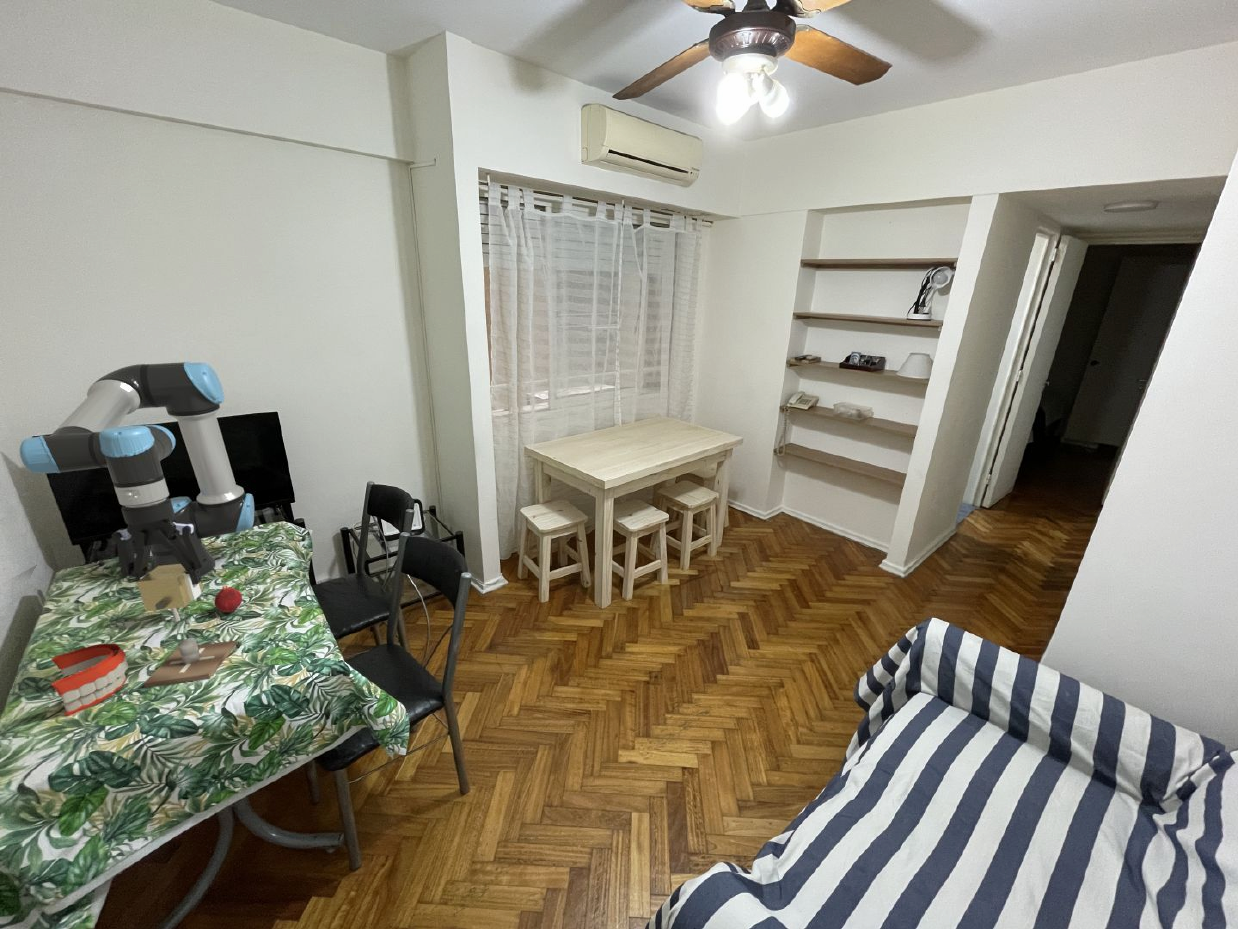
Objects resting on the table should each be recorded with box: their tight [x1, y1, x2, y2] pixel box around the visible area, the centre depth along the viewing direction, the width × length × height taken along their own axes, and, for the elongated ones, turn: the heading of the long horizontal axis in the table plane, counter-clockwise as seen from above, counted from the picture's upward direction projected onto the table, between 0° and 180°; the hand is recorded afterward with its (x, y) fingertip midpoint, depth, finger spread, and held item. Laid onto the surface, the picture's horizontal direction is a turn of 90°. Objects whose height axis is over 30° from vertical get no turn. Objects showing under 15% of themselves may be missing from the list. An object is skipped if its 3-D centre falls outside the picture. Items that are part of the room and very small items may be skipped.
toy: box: [51, 643, 129, 717], centre depth 104 cm, size 12×10×8 cm
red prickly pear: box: [214, 584, 243, 613], centre depth 131 cm, size 6×6×8 cm
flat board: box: [143, 637, 237, 689], centre depth 112 cm, size 12×12×6 cm
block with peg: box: [136, 564, 204, 612], centre depth 107 cm, size 10×7×7 cm
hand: (175, 599), depth 108 cm, fingers closed on block with peg, 7 cm apart
